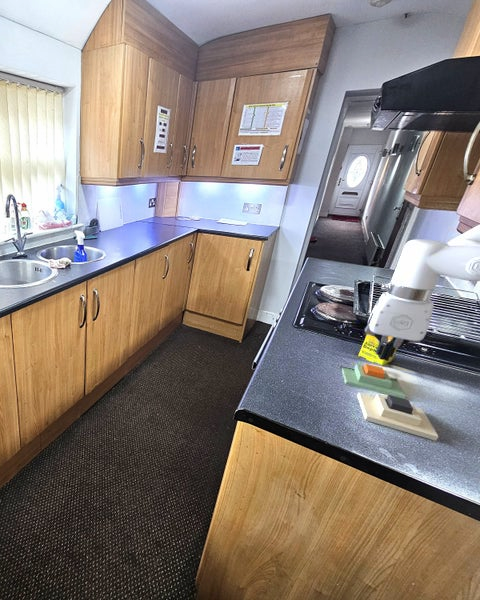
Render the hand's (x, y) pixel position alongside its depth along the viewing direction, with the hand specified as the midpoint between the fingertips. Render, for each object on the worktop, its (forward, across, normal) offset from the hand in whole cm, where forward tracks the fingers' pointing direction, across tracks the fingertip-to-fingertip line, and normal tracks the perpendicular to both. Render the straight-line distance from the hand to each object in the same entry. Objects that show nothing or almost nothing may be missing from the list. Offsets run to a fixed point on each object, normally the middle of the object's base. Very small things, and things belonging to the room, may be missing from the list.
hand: (382, 357), depth 85 cm
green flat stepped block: (+8, -1, 0) cm, 8 cm away
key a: (+5, +1, -14) cm, 15 cm away
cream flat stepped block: (+8, +1, -14) cm, 16 cm away
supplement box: (+8, +2, +13) cm, 16 cm away
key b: (+5, -1, 0) cm, 5 cm away
